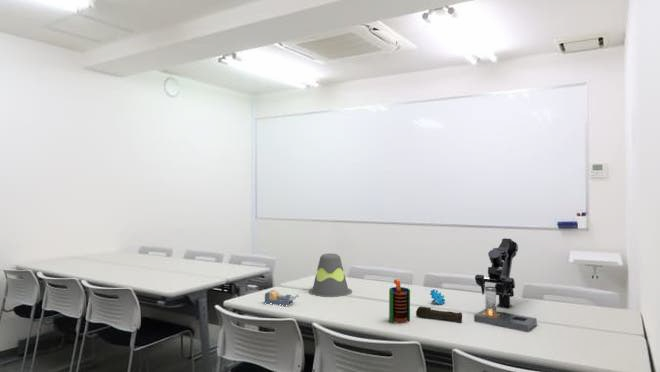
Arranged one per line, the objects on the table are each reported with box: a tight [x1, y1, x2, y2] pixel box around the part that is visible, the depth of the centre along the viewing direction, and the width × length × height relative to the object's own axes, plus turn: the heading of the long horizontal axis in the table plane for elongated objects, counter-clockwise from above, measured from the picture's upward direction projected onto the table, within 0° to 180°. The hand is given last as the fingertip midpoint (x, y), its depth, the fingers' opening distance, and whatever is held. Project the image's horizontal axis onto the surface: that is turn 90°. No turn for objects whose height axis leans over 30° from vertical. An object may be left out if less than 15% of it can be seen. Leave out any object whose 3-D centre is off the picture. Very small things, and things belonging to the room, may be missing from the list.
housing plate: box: [473, 309, 538, 333], centre depth 208 cm, size 14×25×3 cm, turn 49°
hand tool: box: [415, 306, 463, 324], centre depth 216 cm, size 23×5×6 cm, turn 62°
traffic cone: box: [308, 253, 353, 298], centre depth 275 cm, size 28×28×24 cm
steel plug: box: [484, 286, 497, 316], centre depth 212 cm, size 5×5×13 cm
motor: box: [388, 278, 411, 324], centre depth 213 cm, size 10×9×20 cm
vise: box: [264, 289, 299, 307], centre depth 246 cm, size 18×10×7 cm, turn 68°
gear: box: [429, 288, 446, 306], centre depth 246 cm, size 11×6×10 cm
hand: (492, 295), depth 215 cm, fingers open, 9 cm apart
